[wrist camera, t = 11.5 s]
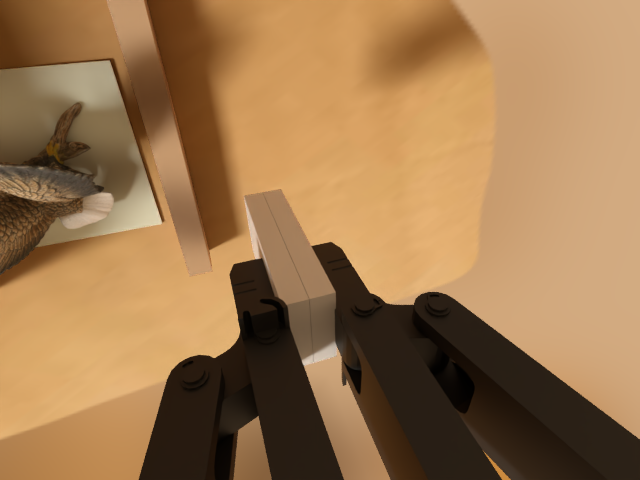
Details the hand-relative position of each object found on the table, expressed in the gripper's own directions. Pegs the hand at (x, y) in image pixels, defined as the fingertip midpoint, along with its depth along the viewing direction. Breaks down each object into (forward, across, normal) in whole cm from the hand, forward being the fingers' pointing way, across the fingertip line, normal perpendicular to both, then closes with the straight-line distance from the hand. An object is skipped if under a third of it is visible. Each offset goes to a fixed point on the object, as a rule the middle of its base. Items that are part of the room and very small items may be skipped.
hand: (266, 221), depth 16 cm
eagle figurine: (+6, -13, +1) cm, 14 cm away
